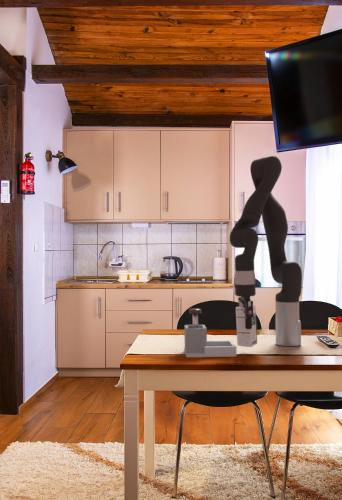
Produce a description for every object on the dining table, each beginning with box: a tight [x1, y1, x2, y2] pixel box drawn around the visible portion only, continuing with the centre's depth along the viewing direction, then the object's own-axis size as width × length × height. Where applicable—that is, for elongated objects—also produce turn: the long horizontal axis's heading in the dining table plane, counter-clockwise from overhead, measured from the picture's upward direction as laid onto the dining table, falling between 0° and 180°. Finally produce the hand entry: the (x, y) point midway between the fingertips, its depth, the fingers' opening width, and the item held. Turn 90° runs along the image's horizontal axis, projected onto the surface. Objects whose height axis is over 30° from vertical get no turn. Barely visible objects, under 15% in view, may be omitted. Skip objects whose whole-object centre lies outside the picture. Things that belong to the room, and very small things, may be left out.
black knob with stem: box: [188, 307, 202, 328], centre depth 175 cm, size 4×4×8 cm
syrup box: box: [235, 304, 258, 348], centre depth 175 cm, size 6×6×14 cm
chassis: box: [183, 324, 238, 358], centre depth 175 cm, size 18×11×10 cm, turn 92°
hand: (246, 326), depth 175 cm, fingers closed on syrup box, 7 cm apart
